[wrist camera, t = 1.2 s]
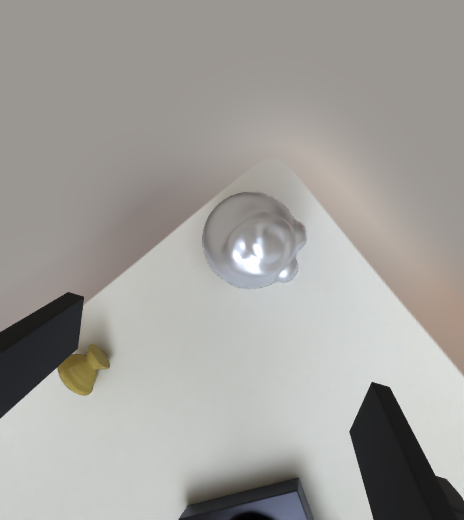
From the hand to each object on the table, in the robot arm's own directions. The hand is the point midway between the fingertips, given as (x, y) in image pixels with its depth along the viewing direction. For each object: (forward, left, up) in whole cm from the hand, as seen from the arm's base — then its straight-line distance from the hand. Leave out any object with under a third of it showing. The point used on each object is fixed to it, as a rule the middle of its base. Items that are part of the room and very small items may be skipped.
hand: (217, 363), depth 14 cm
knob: (+21, -3, -19) cm, 29 cm away
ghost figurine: (-2, -8, -19) cm, 21 cm away
